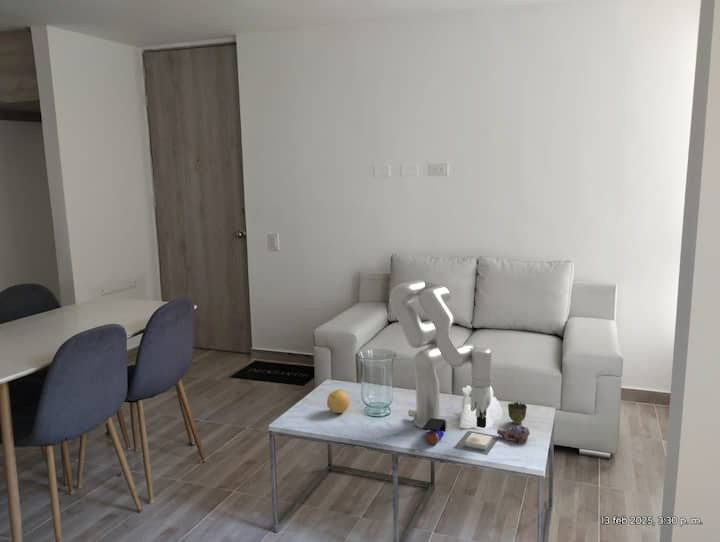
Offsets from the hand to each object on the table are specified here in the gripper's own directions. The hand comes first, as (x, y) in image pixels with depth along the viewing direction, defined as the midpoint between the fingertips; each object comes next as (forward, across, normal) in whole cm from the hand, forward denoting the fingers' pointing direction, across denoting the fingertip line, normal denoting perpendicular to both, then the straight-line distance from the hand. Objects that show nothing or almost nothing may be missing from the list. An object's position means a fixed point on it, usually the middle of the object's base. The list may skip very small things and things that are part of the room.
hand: (481, 426), depth 226 cm
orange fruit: (+6, -1, -65) cm, 65 cm away
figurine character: (+6, +5, -17) cm, 19 cm away
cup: (+6, -22, +8) cm, 24 cm away
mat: (+6, +2, -1) cm, 6 cm away
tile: (+5, -1, 0) cm, 5 cm away
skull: (+6, -7, +10) cm, 14 cm away
